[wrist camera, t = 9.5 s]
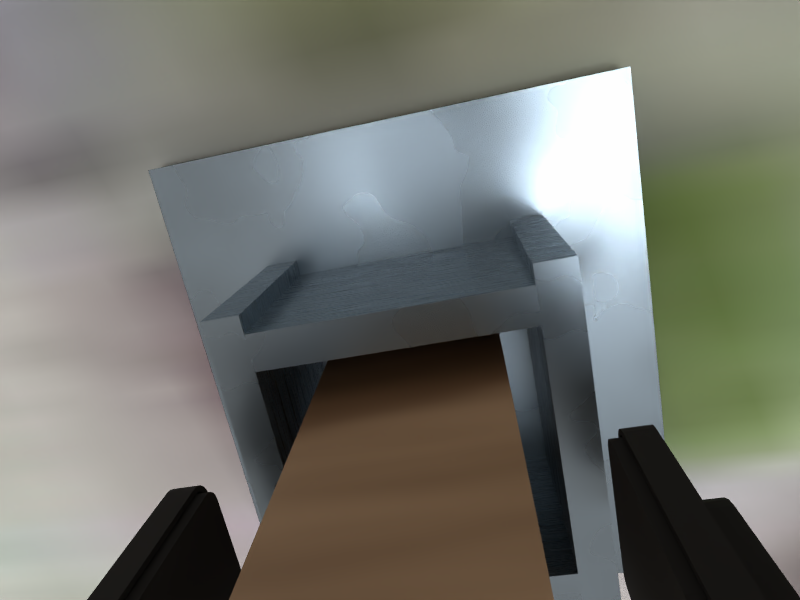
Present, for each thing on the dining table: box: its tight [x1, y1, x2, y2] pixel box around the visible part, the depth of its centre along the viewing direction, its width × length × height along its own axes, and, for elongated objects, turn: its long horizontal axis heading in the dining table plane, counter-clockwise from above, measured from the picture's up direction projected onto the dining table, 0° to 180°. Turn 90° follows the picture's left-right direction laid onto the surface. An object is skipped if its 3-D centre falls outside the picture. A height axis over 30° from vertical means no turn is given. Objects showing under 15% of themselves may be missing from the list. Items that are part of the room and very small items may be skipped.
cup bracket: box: [148, 67, 664, 600], centre depth 15 cm, size 14×12×5 cm
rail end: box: [229, 333, 554, 600], centre depth 12 cm, size 4×4×10 cm
